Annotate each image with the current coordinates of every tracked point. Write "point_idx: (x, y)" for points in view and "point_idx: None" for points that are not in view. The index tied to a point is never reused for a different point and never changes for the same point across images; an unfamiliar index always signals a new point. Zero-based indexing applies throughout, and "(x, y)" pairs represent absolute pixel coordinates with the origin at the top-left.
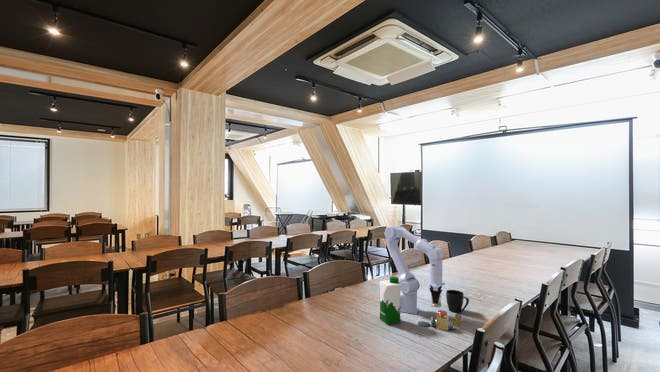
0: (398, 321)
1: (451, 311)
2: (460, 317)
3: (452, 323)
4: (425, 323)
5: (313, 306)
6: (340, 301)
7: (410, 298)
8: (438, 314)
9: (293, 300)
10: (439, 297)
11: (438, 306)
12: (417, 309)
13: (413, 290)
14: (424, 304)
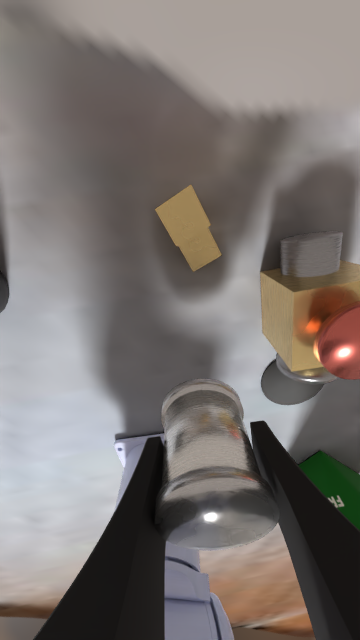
0: (334, 462)
1: (7, 298)
2: (195, 196)
3: (340, 240)
4: (286, 377)
5: (294, 605)
6: (222, 589)
7: None
8: (311, 357)
9: (277, 630)
10: (254, 476)
11: (236, 395)
12: (137, 441)
13: (165, 613)
14: (29, 431)
